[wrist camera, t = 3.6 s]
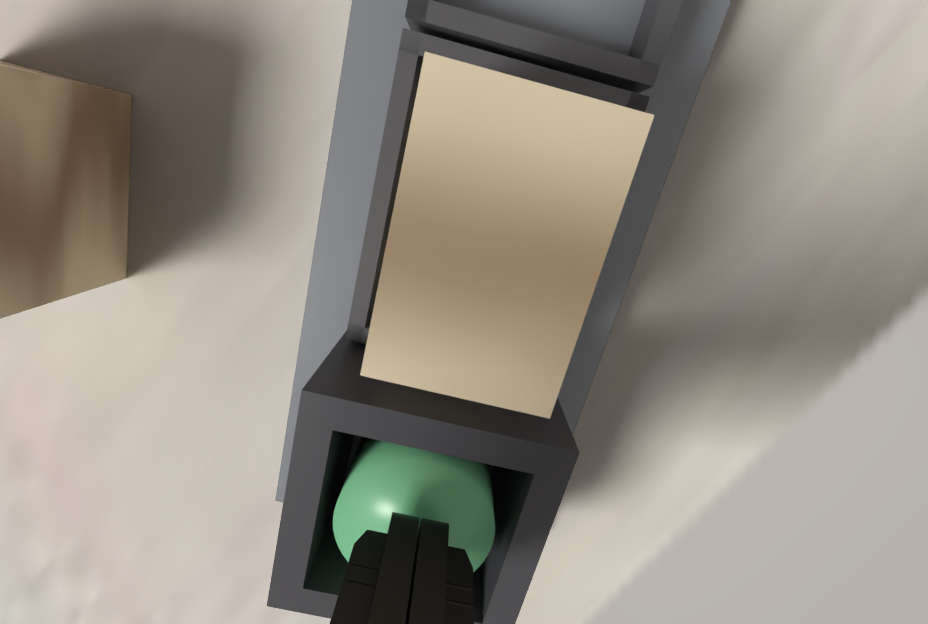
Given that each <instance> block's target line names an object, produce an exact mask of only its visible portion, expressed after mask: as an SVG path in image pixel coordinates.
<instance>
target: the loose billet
mask: <svg viewBox="0 0 928 624" xmlns="http://www.w3.org/2000/svg"><path fill="white" fill-rule="evenodd" d="M131 115H132V95H130V94H127V93H123V92H119V91H115V90H111V89H107V88H104V87H100V86H96V85H92V84H88V83H84V82H80V81H77V80H73V79H69V78H65V77H61V76H57V75H53V74H50V73H46V72H42V71H38V70H34V69H30V68H26V67H23V66H19V65H15V64H11V63H7V62H3V61H0V318H3V317H6V316H9V315H13V314H16V313H19V312H22V311H25V310H28V309H31V308H35V307H38V306H41V305H44V304H47V303H50V302H53V301H57V300H60V299H63V298H66V297H69V296H72V295H75V294H79V293H82V292H85V291H88V290H91V289H94V288H97V287H101V286H104V285H107V284H110V283H113V282H116V281H119V280H123V279H126V272H127V241H128V209H129V178H130V147H131Z"/></svg>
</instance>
